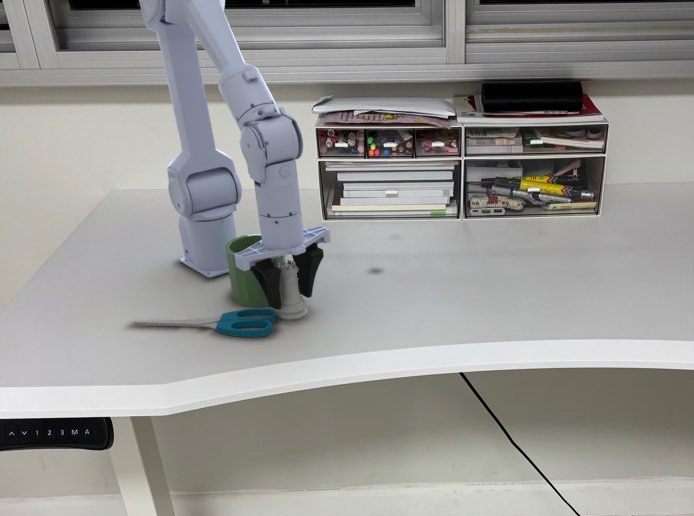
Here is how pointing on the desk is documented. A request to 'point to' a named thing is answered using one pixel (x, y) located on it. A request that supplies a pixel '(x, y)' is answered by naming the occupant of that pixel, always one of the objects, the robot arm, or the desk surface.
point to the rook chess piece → (290, 293)
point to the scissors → (229, 322)
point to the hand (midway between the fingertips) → (290, 301)
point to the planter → (246, 273)
